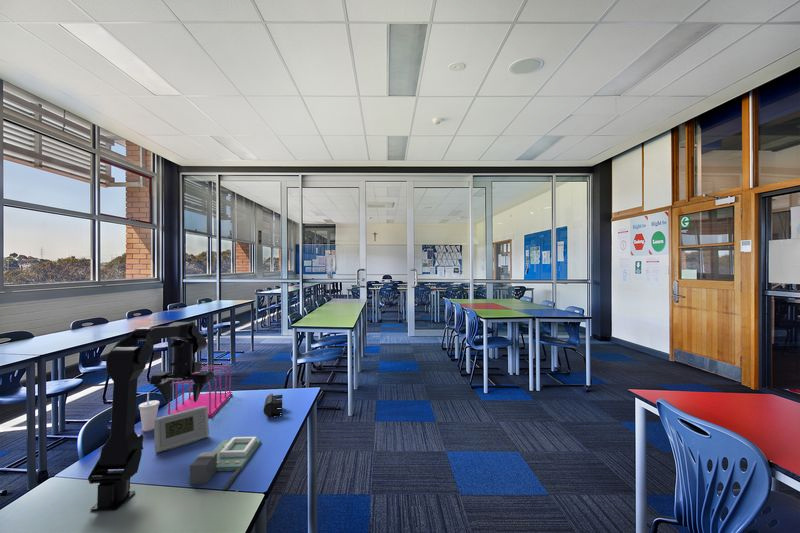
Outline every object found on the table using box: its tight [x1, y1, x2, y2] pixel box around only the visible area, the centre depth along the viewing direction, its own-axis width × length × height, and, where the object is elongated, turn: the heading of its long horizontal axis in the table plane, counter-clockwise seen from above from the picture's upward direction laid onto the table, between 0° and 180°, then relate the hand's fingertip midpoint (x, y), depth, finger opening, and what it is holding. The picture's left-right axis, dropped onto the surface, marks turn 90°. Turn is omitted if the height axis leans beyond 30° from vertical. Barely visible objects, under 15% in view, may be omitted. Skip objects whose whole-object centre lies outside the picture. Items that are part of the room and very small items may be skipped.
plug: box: [189, 451, 218, 486], centre depth 94 cm, size 6×4×6 cm
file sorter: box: [167, 364, 233, 419], centre depth 143 cm, size 17×25×16 cm
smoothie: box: [138, 392, 160, 432], centre depth 122 cm, size 6×6×14 cm
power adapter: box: [263, 393, 283, 418], centre depth 137 cm, size 10×7×7 cm
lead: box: [223, 467, 242, 490], centre depth 94 cm, size 12×1×1 cm, turn 4°
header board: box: [211, 436, 262, 472], centre depth 105 cm, size 16×13×3 cm
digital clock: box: [153, 406, 210, 453], centre depth 113 cm, size 16×9×11 cm, turn 123°
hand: (182, 401), depth 112 cm, fingers open, 9 cm apart
